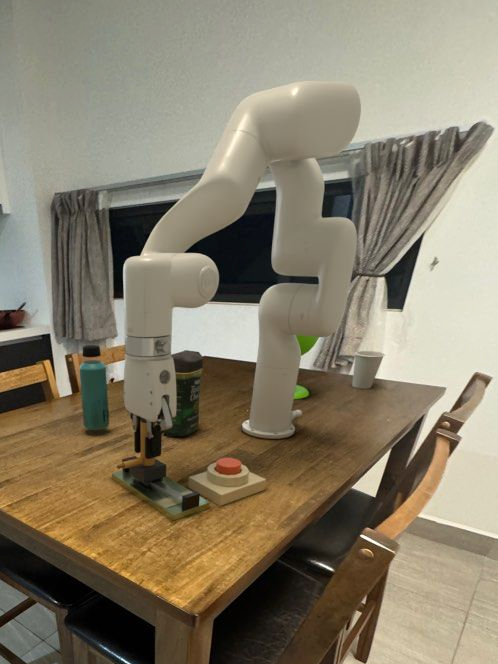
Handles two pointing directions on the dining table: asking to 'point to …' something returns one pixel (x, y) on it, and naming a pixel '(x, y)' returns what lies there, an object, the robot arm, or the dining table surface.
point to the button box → (226, 485)
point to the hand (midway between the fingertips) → (147, 453)
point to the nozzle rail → (163, 494)
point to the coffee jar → (186, 392)
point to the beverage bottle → (94, 390)
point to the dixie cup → (366, 368)
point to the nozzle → (145, 462)
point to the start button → (228, 466)
